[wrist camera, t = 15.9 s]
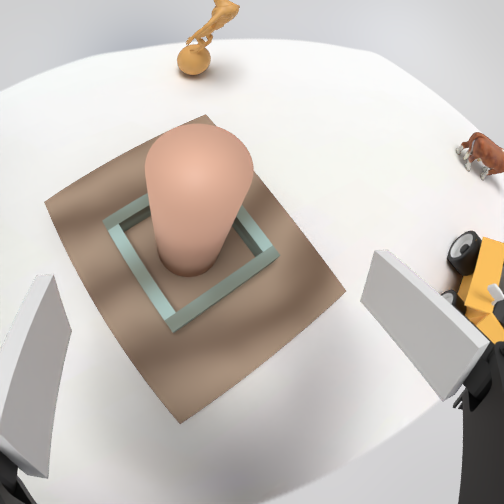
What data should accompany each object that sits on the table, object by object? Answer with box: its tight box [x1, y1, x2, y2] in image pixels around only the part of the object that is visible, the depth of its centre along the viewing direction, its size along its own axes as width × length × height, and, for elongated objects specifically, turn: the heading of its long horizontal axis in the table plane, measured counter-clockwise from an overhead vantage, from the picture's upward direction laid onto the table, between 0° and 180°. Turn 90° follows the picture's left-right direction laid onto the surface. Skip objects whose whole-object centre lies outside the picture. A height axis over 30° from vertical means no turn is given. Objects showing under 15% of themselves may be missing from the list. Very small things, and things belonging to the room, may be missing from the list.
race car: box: [441, 231, 504, 344], centre depth 27 cm, size 15×15×11 cm
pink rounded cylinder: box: [145, 124, 254, 277], centre depth 19 cm, size 5×5×12 cm
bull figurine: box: [457, 132, 504, 180], centre depth 38 cm, size 4×13×8 cm, turn 73°
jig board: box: [44, 115, 346, 424], centre depth 24 cm, size 22×18×4 cm
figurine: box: [177, 0, 240, 75], centre depth 27 cm, size 8×6×12 cm
